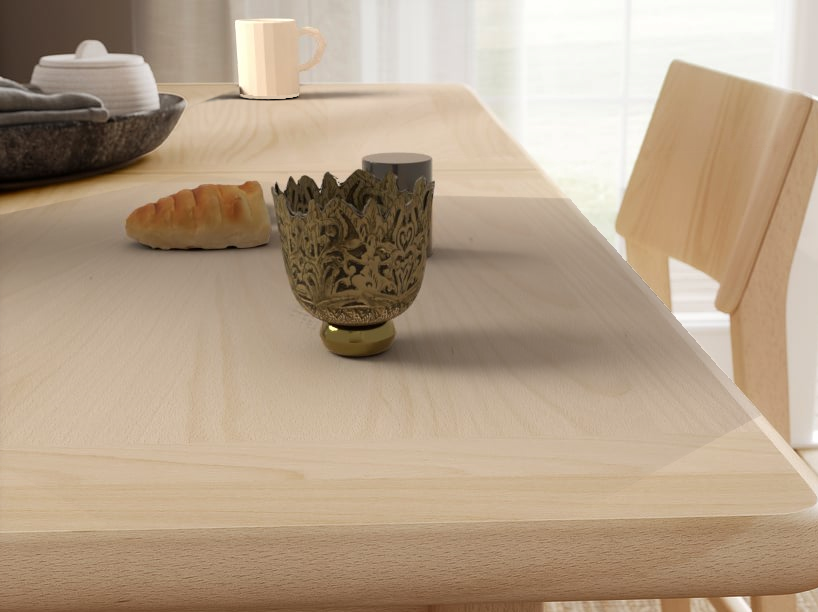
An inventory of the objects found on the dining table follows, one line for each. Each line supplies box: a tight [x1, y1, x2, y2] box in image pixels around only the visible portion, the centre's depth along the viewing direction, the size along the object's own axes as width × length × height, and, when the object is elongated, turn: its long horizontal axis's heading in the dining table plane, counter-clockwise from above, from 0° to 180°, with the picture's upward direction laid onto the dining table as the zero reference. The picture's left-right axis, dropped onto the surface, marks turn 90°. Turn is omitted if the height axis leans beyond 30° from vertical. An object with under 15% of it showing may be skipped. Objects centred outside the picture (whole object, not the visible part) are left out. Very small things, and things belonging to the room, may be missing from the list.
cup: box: [270, 168, 436, 357], centre depth 55 cm, size 8×7×8 cm
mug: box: [234, 18, 328, 96], centre depth 158 cm, size 8×12×10 cm
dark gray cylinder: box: [361, 151, 434, 258], centre depth 74 cm, size 4×4×6 cm
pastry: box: [125, 180, 272, 251], centre depth 77 cm, size 9×7×4 cm
